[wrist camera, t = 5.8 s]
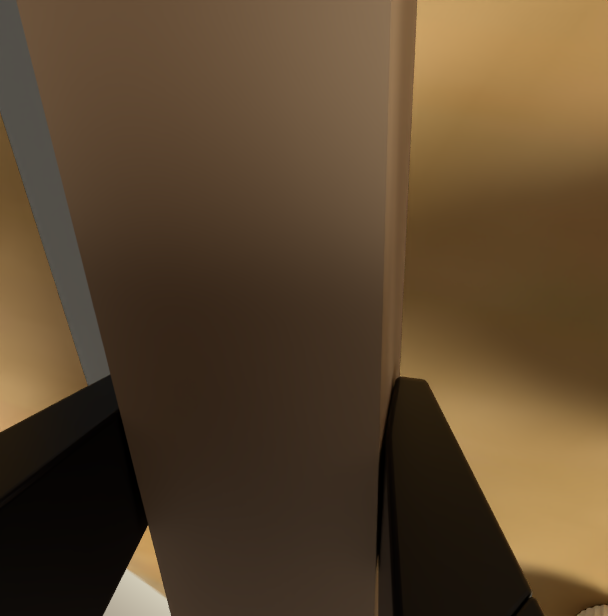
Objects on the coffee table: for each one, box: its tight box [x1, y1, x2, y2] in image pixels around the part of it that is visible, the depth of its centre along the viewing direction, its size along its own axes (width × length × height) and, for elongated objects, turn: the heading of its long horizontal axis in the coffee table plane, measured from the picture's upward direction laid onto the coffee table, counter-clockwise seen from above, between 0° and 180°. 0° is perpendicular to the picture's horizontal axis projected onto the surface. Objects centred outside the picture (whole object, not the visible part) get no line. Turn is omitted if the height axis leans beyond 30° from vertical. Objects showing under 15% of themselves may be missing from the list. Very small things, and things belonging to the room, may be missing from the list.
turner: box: [16, 0, 417, 616], centre depth 9 cm, size 5×18×3 cm, turn 4°
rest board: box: [0, 0, 110, 386], centre depth 16 cm, size 7×22×2 cm, turn 3°
